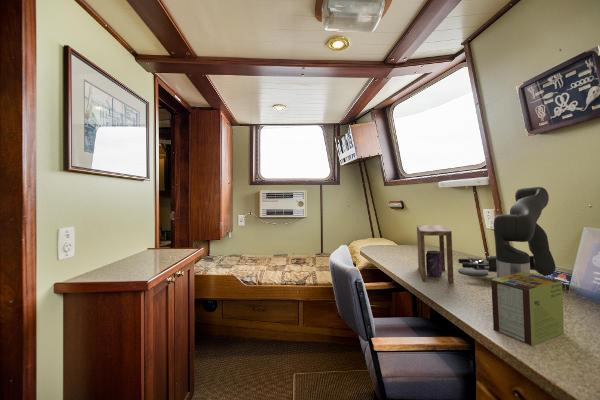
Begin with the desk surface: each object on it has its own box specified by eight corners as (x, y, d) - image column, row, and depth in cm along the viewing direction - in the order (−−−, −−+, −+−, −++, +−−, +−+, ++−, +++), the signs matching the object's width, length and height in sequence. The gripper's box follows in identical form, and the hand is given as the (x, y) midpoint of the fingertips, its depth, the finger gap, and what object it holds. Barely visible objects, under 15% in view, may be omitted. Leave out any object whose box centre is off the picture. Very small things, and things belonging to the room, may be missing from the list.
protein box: (564, 333, 79) (562, 280, 79) (531, 346, 73) (529, 289, 73) (523, 319, 89) (522, 271, 89) (491, 330, 83) (489, 278, 83)
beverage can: (423, 274, 141) (422, 251, 141) (433, 272, 144) (432, 249, 144) (435, 278, 135) (434, 253, 135) (445, 275, 138) (444, 251, 138)
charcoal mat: (487, 270, 143) (487, 269, 143) (487, 277, 132) (487, 276, 132) (459, 267, 150) (459, 266, 150) (456, 274, 140) (456, 272, 140)
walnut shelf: (444, 269, 149) (442, 225, 149) (453, 283, 126) (451, 231, 125) (418, 268, 154) (416, 225, 153) (422, 282, 130) (420, 231, 130)
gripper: (493, 253, 137) (457, 252, 142) (504, 259, 124) (463, 258, 129) (494, 268, 137) (457, 266, 142) (505, 276, 124) (464, 274, 129)
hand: (460, 263), depth 136 cm, fingers open, 8 cm apart
